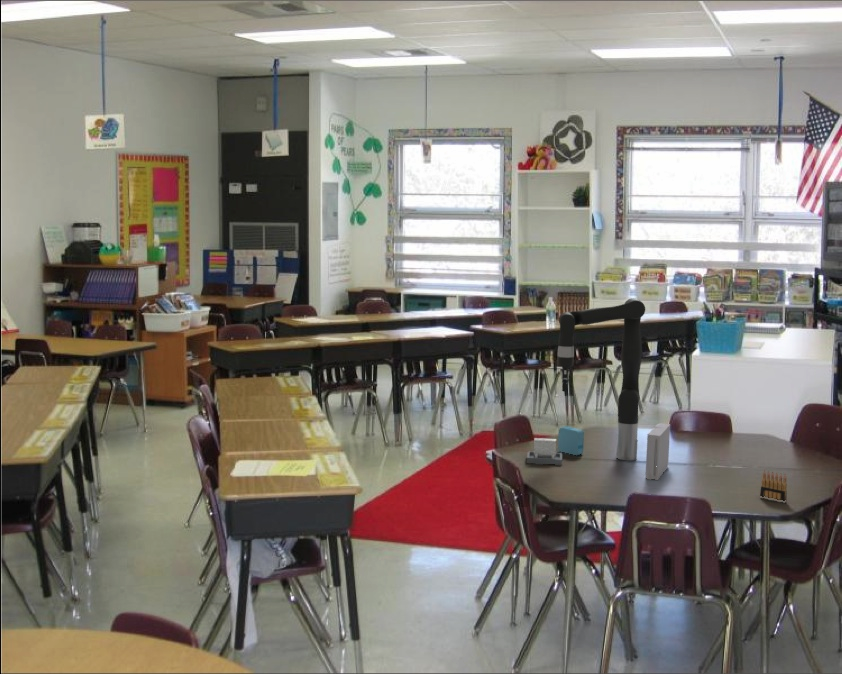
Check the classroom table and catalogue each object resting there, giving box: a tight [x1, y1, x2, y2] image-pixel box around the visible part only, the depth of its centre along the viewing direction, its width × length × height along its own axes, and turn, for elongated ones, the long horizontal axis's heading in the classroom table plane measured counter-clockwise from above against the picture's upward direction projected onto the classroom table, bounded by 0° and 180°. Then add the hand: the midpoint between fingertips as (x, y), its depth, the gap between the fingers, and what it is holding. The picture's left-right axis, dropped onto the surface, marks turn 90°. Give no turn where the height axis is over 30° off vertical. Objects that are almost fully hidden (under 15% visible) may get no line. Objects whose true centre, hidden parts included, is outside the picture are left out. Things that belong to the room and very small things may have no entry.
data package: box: [557, 426, 585, 456], centre depth 535 cm, size 12×4×12 cm, turn 43°
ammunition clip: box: [759, 469, 788, 501], centre depth 459 cm, size 11×2×12 cm, turn 49°
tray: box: [526, 451, 563, 466], centre depth 518 cm, size 16×13×4 cm
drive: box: [533, 437, 557, 459], centre depth 517 cm, size 10×4×9 cm, turn 82°
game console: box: [644, 422, 671, 481], centre depth 500 cm, size 6×27×20 cm, turn 158°
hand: (564, 389), depth 524 cm, fingers open, 8 cm apart
